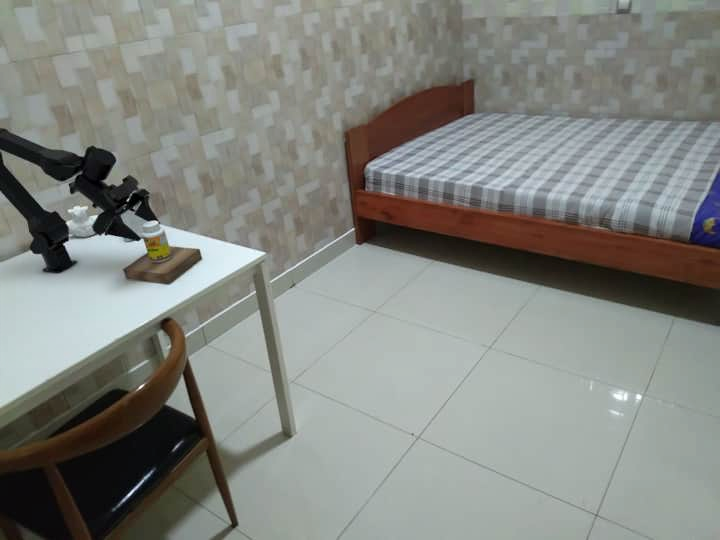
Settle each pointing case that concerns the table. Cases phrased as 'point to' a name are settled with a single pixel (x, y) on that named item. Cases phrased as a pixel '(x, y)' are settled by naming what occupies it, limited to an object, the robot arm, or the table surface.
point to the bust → (81, 222)
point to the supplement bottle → (156, 242)
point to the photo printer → (133, 222)
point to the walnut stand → (163, 266)
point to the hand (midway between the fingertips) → (149, 232)
